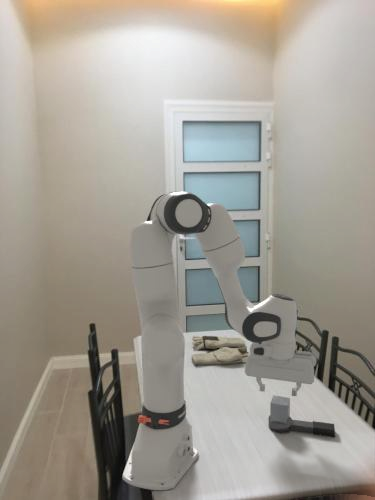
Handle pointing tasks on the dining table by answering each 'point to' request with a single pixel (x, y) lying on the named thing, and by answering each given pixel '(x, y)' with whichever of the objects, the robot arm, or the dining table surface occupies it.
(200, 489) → the dining table surface
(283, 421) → the plain grey cube block
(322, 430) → the ratchet
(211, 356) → the pair of gloves
